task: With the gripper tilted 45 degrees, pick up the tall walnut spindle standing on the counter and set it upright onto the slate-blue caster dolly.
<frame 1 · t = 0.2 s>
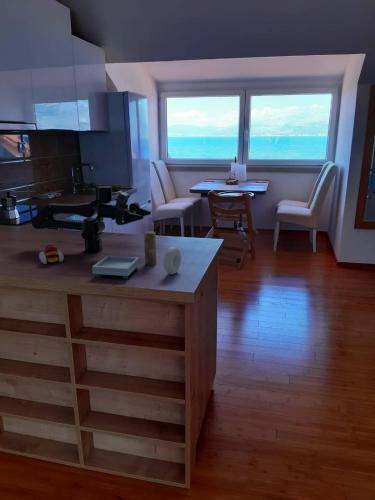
hand: (147, 215, 157), 17 cm above the countertop, tool horizontal, fingers open, 9 cm apart
donut: (172, 274, 139), on the countertop
red yellow rounded shape: (52, 262, 154), on the countertop
walnut spindle: (150, 263, 150), on the countertop
caster dolly: (117, 272, 140), on the countertop
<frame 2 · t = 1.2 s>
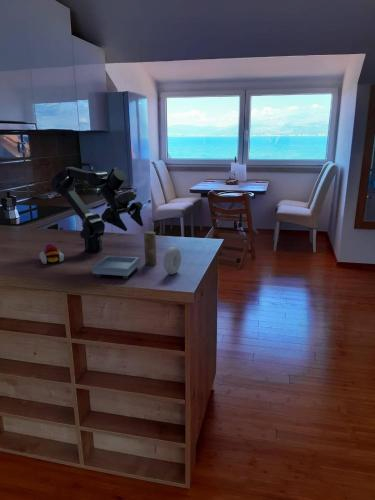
hand: (134, 228, 150), 13 cm above the countertop, tool tilted 45°, fingers open, 9 cm apart
nothing on the countertop moved.
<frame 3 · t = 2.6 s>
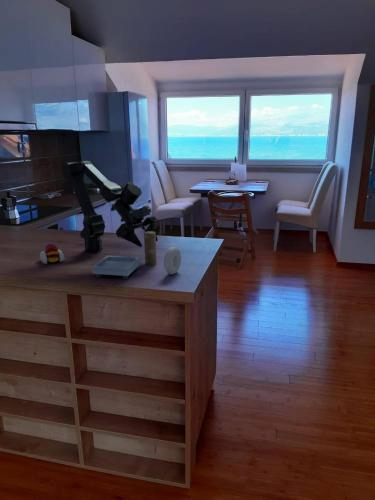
hand: (149, 243, 148), 8 cm above the countertop, tool tilted 45°, fingers open, 9 cm apart
nothing on the countertop moved.
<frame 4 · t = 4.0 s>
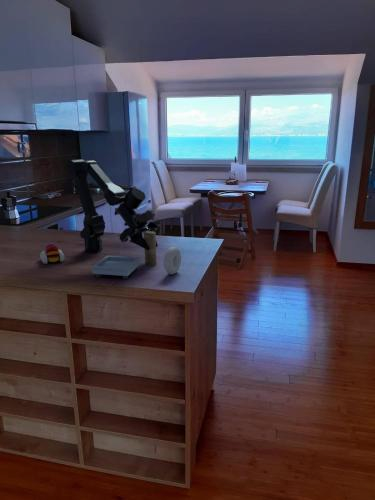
hand: (153, 248, 147), 7 cm above the countertop, tool tilted 45°, fingers closed on walnut spindle, 4 cm apart
walnut spindle: (150, 263, 150), on the countertop, touching gripper
everything else where it was.
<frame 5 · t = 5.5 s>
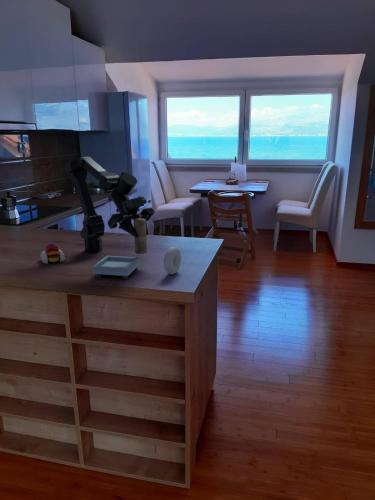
hand: (142, 235, 142), 12 cm above the countertop, tool tilted 45°, fingers closed on walnut spindle, 4 cm apart
walnut spindle: (141, 252, 145), point 6 cm above the countertop, touching gripper
everything else where it was.
when the fingers open (10 cm above the countertop, at t = 7.0 s): walnut spindle stays where it is, resting on caster dolly.
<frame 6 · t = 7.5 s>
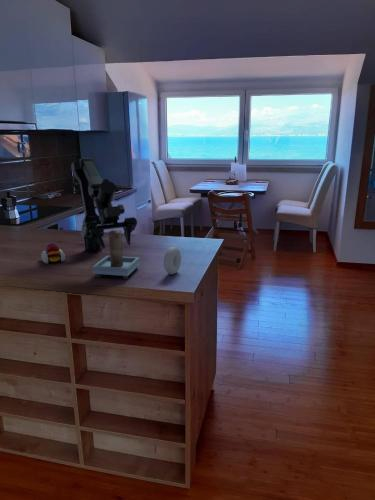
hand: (117, 246, 136), 10 cm above the countertop, tool tilted 45°, fingers open, 9 cm apart
walnut spindle: (117, 265, 140), point 3 cm above the countertop, touching caster dolly
everything else where it was.
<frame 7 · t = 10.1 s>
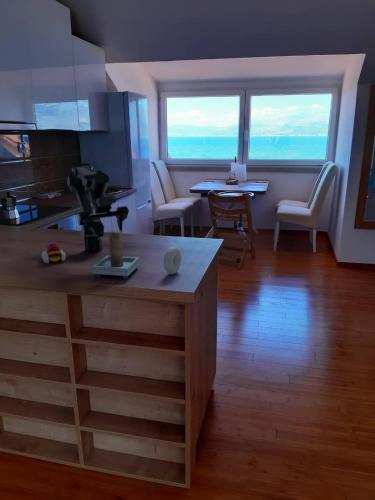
hand: (109, 234, 144), 13 cm above the countertop, tool tilted 45°, fingers open, 9 cm apart
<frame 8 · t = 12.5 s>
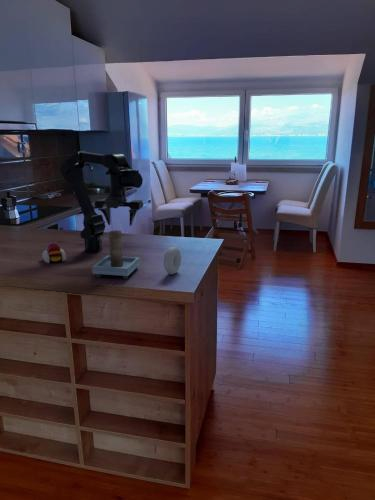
hand: (120, 225, 157), 13 cm above the countertop, tool pointing down, fingers open, 9 cm apart
at the end: walnut spindle inside the target area on the caster dolly (0.0 cm from its centre), point 2.8 cm above the caster dolly's base; walnut spindle tilted 0°; the gripper is holding nothing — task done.
